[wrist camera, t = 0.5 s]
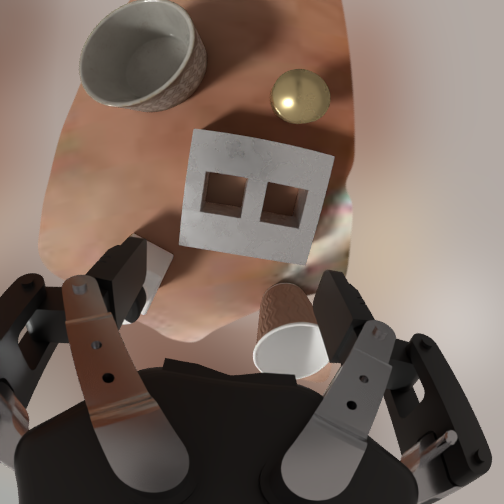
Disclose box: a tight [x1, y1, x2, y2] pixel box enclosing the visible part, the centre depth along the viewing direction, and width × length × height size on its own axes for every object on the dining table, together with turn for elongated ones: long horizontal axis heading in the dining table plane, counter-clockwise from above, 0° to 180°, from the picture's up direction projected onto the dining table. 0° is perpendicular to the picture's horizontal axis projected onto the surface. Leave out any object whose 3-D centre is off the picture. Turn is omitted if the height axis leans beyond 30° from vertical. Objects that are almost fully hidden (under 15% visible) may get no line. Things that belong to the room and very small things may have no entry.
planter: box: [79, 0, 207, 112], centre depth 23 cm, size 13×13×10 cm
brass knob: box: [270, 69, 330, 124], centre depth 26 cm, size 5×5×10 cm
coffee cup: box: [253, 283, 329, 379], centre depth 37 cm, size 10×10×12 cm
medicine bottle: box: [121, 233, 173, 324], centre depth 33 cm, size 7×7×12 cm
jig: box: [179, 129, 335, 265], centre depth 33 cm, size 14×16×5 cm
